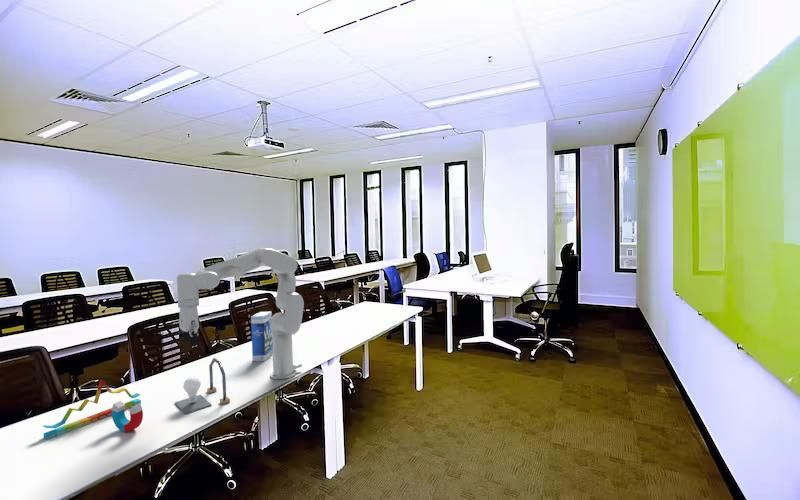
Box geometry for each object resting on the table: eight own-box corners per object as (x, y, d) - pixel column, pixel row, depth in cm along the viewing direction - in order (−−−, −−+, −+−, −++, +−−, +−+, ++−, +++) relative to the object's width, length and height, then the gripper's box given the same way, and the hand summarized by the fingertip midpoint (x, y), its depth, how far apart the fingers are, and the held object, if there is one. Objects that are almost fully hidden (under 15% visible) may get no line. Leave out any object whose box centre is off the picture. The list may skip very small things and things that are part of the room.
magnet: (112, 430, 135) (110, 403, 135) (119, 426, 138) (118, 400, 137) (136, 434, 132) (135, 407, 131) (144, 430, 134) (142, 403, 134)
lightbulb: (183, 407, 151) (182, 381, 150) (184, 401, 156) (183, 376, 156) (201, 404, 154) (200, 378, 153) (201, 398, 159) (200, 373, 159)
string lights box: (265, 361, 206) (263, 316, 205) (251, 361, 207) (250, 316, 206) (273, 353, 220) (272, 311, 219) (261, 354, 220) (259, 311, 219)
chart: (47, 440, 129) (45, 398, 129) (43, 438, 131) (41, 397, 130) (141, 404, 156) (139, 369, 156) (137, 403, 158) (135, 368, 157)
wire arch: (214, 389, 169) (212, 354, 169) (229, 402, 156) (228, 363, 155) (207, 391, 167) (205, 355, 167) (222, 404, 154) (220, 365, 153)
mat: (200, 395, 163) (200, 394, 163) (211, 405, 153) (211, 404, 153) (174, 403, 156) (174, 402, 156) (184, 414, 146) (184, 412, 146)
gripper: (172, 301, 156) (174, 341, 157) (184, 306, 144) (186, 349, 145) (192, 299, 161) (194, 337, 162) (205, 304, 149) (207, 345, 150)
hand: (190, 343), depth 154 cm, fingers open, 9 cm apart
